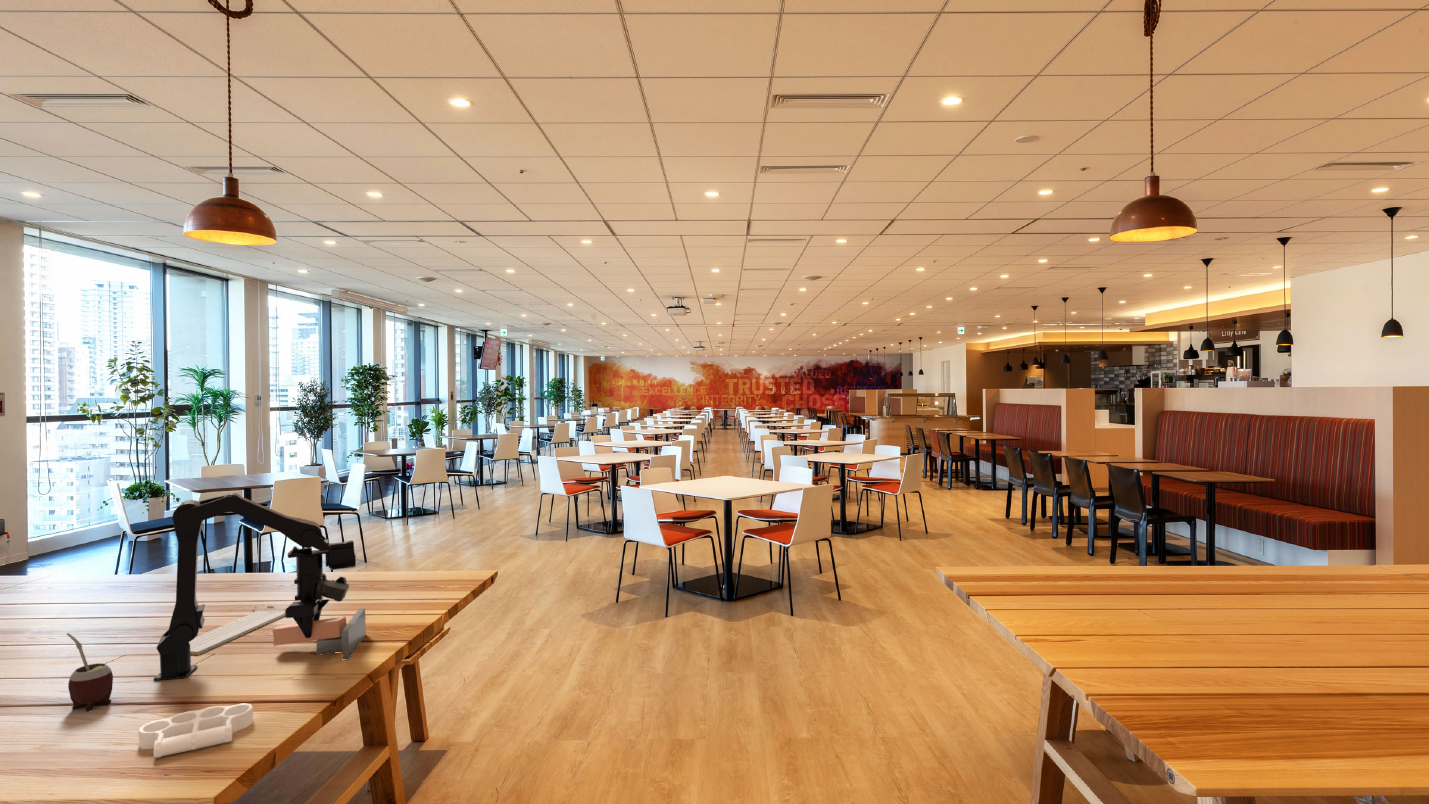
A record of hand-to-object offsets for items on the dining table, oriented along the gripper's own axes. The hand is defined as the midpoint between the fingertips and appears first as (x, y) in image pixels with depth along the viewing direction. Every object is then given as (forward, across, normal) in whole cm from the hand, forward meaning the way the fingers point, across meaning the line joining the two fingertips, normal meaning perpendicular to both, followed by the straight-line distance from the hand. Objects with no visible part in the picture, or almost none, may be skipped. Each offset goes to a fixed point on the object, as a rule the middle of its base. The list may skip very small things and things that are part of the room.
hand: (311, 634), depth 183 cm
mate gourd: (+4, -22, +36) cm, 43 cm away
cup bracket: (+4, 0, -6) cm, 8 cm away
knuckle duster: (+5, -43, +8) cm, 44 cm away
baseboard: (+5, +21, +26) cm, 34 cm away
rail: (+1, 0, 0) cm, 1 cm away
